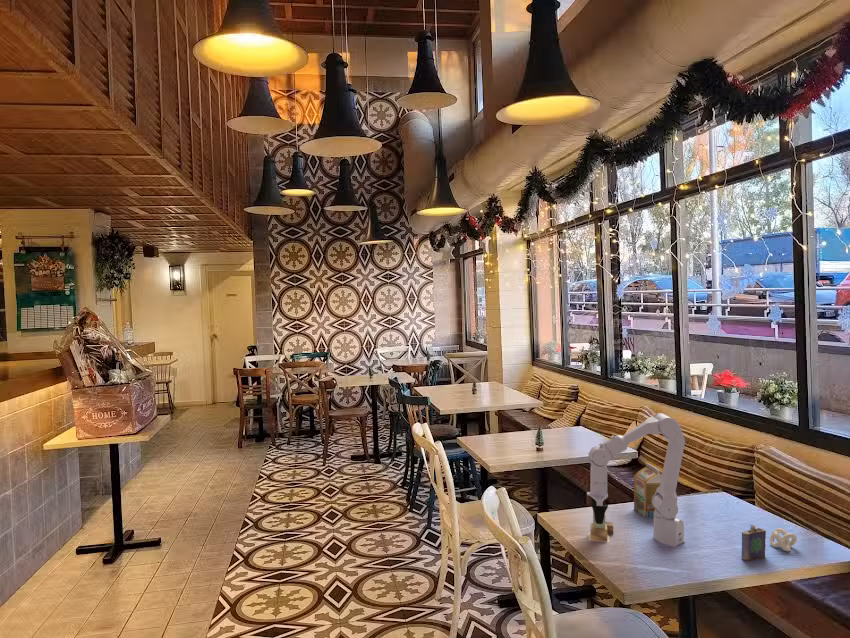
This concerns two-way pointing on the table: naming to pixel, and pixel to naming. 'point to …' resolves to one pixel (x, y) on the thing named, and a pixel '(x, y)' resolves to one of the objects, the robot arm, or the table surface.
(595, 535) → the oak block
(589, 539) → the build mat
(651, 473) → the milk carton
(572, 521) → the table surface
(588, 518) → the table surface
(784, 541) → the knot
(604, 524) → the sage block
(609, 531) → the walnut block
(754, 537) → the flask
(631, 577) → the table surface
